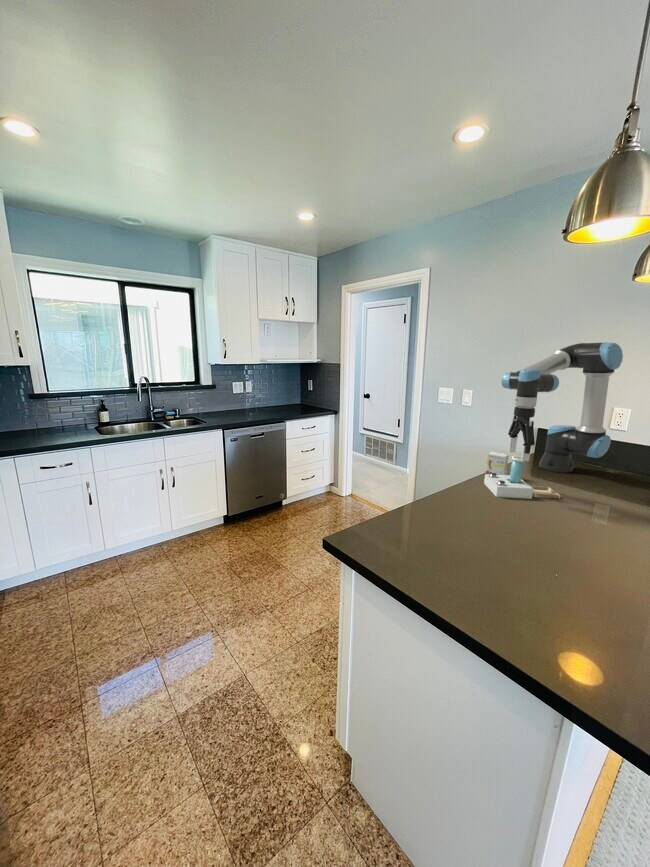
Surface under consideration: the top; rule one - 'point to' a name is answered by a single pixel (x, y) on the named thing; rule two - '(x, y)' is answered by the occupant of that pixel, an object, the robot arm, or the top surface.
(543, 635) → the top surface
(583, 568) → the top surface
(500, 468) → the ink box
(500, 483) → the plunger
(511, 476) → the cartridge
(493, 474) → the plunger
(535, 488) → the tray
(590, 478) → the top surface
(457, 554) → the top surface
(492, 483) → the housing
